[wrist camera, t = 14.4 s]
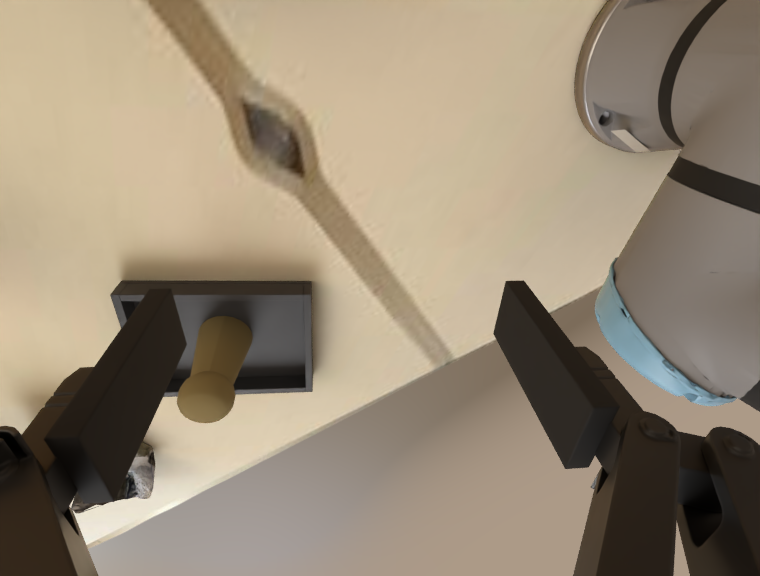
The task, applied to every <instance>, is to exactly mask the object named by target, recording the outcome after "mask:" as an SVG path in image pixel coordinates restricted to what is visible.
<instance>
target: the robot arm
mask: <svg viewBox="0 0 760 576" xmlns="http://www.w3.org/2000/svg"><path fill="white" fill-rule="evenodd" d="M575 101H576V106H577V110H578V113H579V116H580V118H581V121H582V123H583V124H584V126H585V128H586V129H587V130H588V131H589V133H590V134H591V135H593V136H594V137H595V138H596V139H597V140H599V141H601V142H602V143H604V144H607V145H609V146H612V147H614V148H617V149H619V150H622V151H626V152H634V153H642V152H653V151H664V150H676V149H682V151H681V152H680V154H679V156H678V158H677V160H676V161H675V163H674V165H673V166H672V168H671V170H670V172H669V173H668V174H667V176H666V178H665V179H664V181H663V183H662V184H661V186H660V188H659V189H658V191H657V193H656V194H655V196H654V198H653V200H652V201H651V203H650V205H649V206H648V208H647V210H646V211H645V213H644V215H643V217H642V218H641V220H640V222H639V223H638V225H637V227H636V228H635V230H634V232H633V233H632V235H631V237H630V239H629V240H628V242H627V244H626V245H625V247H624V249H623V250H622V252H621V254H620V256H619V257H617V258H615V260H614V261H613V262H612V264H611V266H610V270H609V275H608V277H607V279H606V281H605V283H604V285H603V287H602V289H601V291H600V293H599V295H598V297H597V299H596V303H595V314H596V318H597V321H598V323H599V324H600V329H601V331H602V333H603V335H604V336H605V338H606V339H607V341H608V342H609V343H610V345H611V346H612V347H613V348H614V350H615V351H616V352H617V353H618V354H619V355H620V356H621V357H622V358H623V359H624V360H625V361H626V362H627V363H628V364H629V365H630V366H632V367H633V368H634V369H635V370H636V371H637V372H639V373H640V374H641V375H643V376H644V377H645V378H647V379H648V380H650V381H651V382H652V383H654V384H655V385H657V386H659V387H660V388H662V389H664V390H666V391H668V392H670V393H672V394H674V395H675V396H682V395H684V396H685V397H686V398H687V399H688V400H689V401H690V402H693V403H696V404H700V405H705V406H718V405H723V404H725V403H729V402H733V401H735V400H736V399H737V398H738V399H740V400H741V401H743V402H745V403H746V404H748V405H750V406H751V407H753V408H755V409H756V410H758V411H760V0H609V1H608V2H607V3H606V5H605V6H604V7H603V9H602V10H601V12H600V13H599V15H598V16H597V18H596V19H595V21H594V23H593V24H592V26H591V28H590V30H589V32H588V34H587V37H586V39H585V41H584V44H583V46H582V49H581V52H580V55H579V59H578V63H577V68H576V74H575ZM494 336H495V338H496V339H497V341H498V343H499V345H500V347H501V349H502V351H503V353H504V354H505V356H506V358H507V360H508V362H509V364H510V366H511V368H512V369H513V371H514V373H515V375H516V377H517V379H518V381H519V383H520V384H521V386H522V388H523V390H524V392H525V394H526V396H527V398H528V400H529V401H530V403H531V405H532V407H533V409H534V411H535V412H536V415H537V416H538V418H539V420H540V422H541V424H542V426H543V428H544V430H545V432H546V433H547V435H548V437H549V439H550V441H551V442H552V445H553V446H554V448H555V450H556V452H557V454H558V456H559V458H560V460H561V461H562V464H563V465H564V467H565V469H572V468H585V467H589V466H590V464H591V462H592V460H593V458H594V456H595V455H596V457H597V459H598V460H599V462H600V463H601V465H602V467H601V469H600V471H599V473H598V475H597V477H596V479H595V480H594V483H593V484H592V486H591V488H593V489H594V493H593V498H592V502H591V506H590V510H589V514H588V518H587V522H586V526H585V530H584V534H583V538H582V542H581V546H580V550H579V554H578V558H577V562H576V567H575V570H574V574H573V576H673V572H674V554H675V537H676V520H677V523H678V527H679V531H680V536H681V540H682V544H683V548H684V552H685V556H686V560H687V564H688V568H689V573H690V576H760V445H758V443H756V442H755V441H754V440H753V439H751V438H750V437H748V436H746V435H744V434H743V433H741V432H739V431H736V430H734V429H731V428H726V427H716V428H713V429H712V430H711V431H710V433H709V434H708V435H707V436H706V437H702V436H697V435H692V434H688V433H683V432H678V431H677V430H676V429H675V428H674V427H673V426H672V425H671V424H670V423H669V422H668V421H666V420H665V419H663V418H661V417H659V416H658V415H656V414H652V413H649V412H644V411H643V410H642V408H641V407H640V406H639V405H638V404H637V402H636V401H635V400H634V399H633V398H632V396H631V395H630V394H629V393H628V391H627V390H626V389H625V388H624V386H623V385H622V384H621V383H620V382H619V380H618V379H616V378H615V375H614V374H613V373H612V372H611V371H610V370H608V367H607V366H606V364H604V362H603V361H602V360H601V358H600V357H599V356H598V355H596V354H595V353H594V352H592V351H591V350H589V349H588V348H587V347H574V346H573V344H572V343H571V342H570V340H569V339H568V338H567V336H566V335H565V334H564V333H563V331H562V330H561V329H560V327H559V326H558V325H557V323H556V322H555V321H554V319H553V318H552V317H551V315H550V314H549V313H548V312H547V310H546V309H545V308H544V306H543V305H542V304H541V302H540V301H539V300H538V298H537V297H536V296H535V295H534V293H533V292H532V291H531V289H530V288H529V287H528V285H527V284H526V283H525V282H524V281H506V283H505V287H504V292H503V296H502V300H501V304H500V308H499V313H498V317H497V321H496V325H495V329H494ZM186 346H187V342H186V339H185V335H184V332H183V328H182V325H181V321H180V318H179V314H178V310H177V307H176V303H175V300H174V296H173V293H172V289H171V288H161V289H149V291H148V292H147V293H146V295H145V296H144V298H143V299H142V300H141V302H140V303H139V305H138V306H137V308H136V309H135V310H134V312H133V313H132V315H131V316H130V317H129V319H128V320H127V322H126V323H125V324H124V326H123V327H122V329H121V330H120V332H119V333H118V334H117V336H116V337H115V339H114V340H113V341H112V343H111V344H110V346H109V347H108V348H107V350H106V351H105V353H104V354H103V356H102V357H101V358H100V360H99V361H98V363H97V364H96V365H95V367H85V368H79V369H78V370H77V371H75V372H74V373H73V374H71V375H70V376H69V377H67V378H66V379H65V380H64V381H63V382H62V383H61V385H60V386H59V387H58V388H57V390H56V391H55V392H54V396H51V398H50V399H49V400H48V401H47V403H46V404H45V408H42V409H41V411H40V412H39V413H38V415H37V416H36V417H35V418H34V420H33V421H32V422H31V424H30V425H29V426H28V428H27V429H26V430H25V431H24V433H23V434H22V435H21V434H20V433H19V432H18V431H17V430H16V428H14V427H9V426H1V427H0V576H98V574H97V571H96V569H95V566H94V564H93V561H92V559H91V556H90V554H89V551H88V549H87V546H86V543H85V541H84V538H83V536H82V533H81V531H80V528H79V526H78V523H77V521H76V518H75V516H74V513H73V511H72V510H71V508H70V507H69V505H70V504H71V502H72V500H73V498H74V496H75V495H76V493H77V492H78V494H79V496H80V497H81V499H82V500H83V502H84V503H85V504H89V503H103V502H115V499H116V497H117V495H118V493H119V491H120V489H121V486H122V484H123V482H124V480H125V478H126V476H127V474H128V471H129V469H130V467H131V465H132V463H133V461H134V458H135V456H136V454H137V452H138V450H139V448H140V445H141V443H142V441H143V439H144V437H145V435H146V432H147V430H148V428H149V426H150V424H151V422H152V419H153V417H154V415H155V413H156V411H157V409H158V407H159V404H160V402H161V400H162V398H163V396H164V394H165V391H166V389H167V387H168V385H169V383H170V381H171V378H172V376H173V374H174V372H175V370H176V368H177V365H178V363H179V361H180V359H181V357H182V355H183V353H184V350H185V348H186Z"/></svg>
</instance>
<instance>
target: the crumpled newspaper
mask: <svg viewBox="0 0 760 576" xmlns="http://www.w3.org/2000/svg"><path fill="white" fill-rule="evenodd" d="M154 471H155V460H154V452H153V448H152V447H151V446H150V445H147V444H145V443H144V442H142V443H141V445H140V448H139V450H138V452H137V454H136V456H135V458H134V461H133V463H132V465H131V467H130V469H129V471H128V474H127V476H126V478H125V480H124V482H123V484H122V486H121V489H120V491H119V493H118V495H117V497H116V499H115V501H117V500H121V499H129V498H133V497H139V498H142V499H147V498H149V497H150V496H151V493H152V489H153V482H154ZM106 503H109V502H103V503H89V504H85V503H84V502H83V500H82V499H81V497H80V496H79V494H78V492H77V493H76V495H75V497H74V501H73V504H72V507H71V510H73V511H74V512H75V513H81V512H84V510H85V511H87V510H86V509H88V508H90V507H92V506H94V505H96V504H97V505H104V504H106ZM98 507H99V506H98ZM95 508H96V507H95ZM92 509H93V508H92ZM88 510H90V509H88Z"/></svg>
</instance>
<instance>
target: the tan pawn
mask: <svg viewBox="0 0 760 576" xmlns="http://www.w3.org/2000/svg"><path fill="white" fill-rule="evenodd" d="M252 339H253V337H252V332H251V330H250V329H249V327H248V326H247V325H246V324H245V323H243V322H242V321H241V320H238V319H236V318H234V317H228V316H216V317H213V318H210V319H208V320H206V321H205V322H204V323H203V324H202V325H201V327H200V328H199V332H198V337H197V343H196V348H195V354H194V359H193V365H192V370H191V375H190V377H189V378H188V379H186V381H185V382H184V383H183V384H182V386H181V387H180V389H179V392H178V398H177V404H178V407H179V409H180V412H181V413H182V414H183V415H184V416H185V417H186V418H188V419H190V420H192V421H195V422H199V423H212V422H215V421H219V420H220V419H222V418H223V417H225V416H226V415H227V414H228V413H229V412H230V410H231V409H232V407H233V404H234V400H235V390H234V386H233V385H234V382H235V380H236V378H237V376H238V373H239V371H240V369H241V367H242V364H243V362H244V360H245V358H246V355H247V353H248V351H249V348H250V346H251V344H252Z"/></svg>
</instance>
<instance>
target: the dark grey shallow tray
mask: <svg viewBox="0 0 760 576" xmlns="http://www.w3.org/2000/svg"><path fill="white" fill-rule="evenodd" d="M161 288H171V289H172V293H173V296H174V300H175V303H176V307H177V310H178V314H179V318H180V321H181V325H182V328H183V332H184V335H185V339H186V342H187V346H186V348H185V350H184V353H183V355H182V357H181V359H180V361H179V363H178V365H177V368H176V370H175V372H174V374H173V376H172V378H171V381H170V383H169V385H168V387H167V389H166V391H165V394H164V396H163V397H175V396H178V392H179V389H180V387H181V386H182V384H183V383H184V382H185V381H186V379H188V378H189V377H190V375H191V370H192V365H193V359H194V354H195V348H196V343H197V337H198V332H199V328H200V327H201V325H202V324H203V323H204V322H205V321H206V320H208V319H210V318H213V317H216V316H228V317H234V318H236V319H238V320H241V321H242V322H243V323H245V324H246V325H247V326H248V327H249V329H250V330H251V332H252V337H253V339H252V344H251V346H250V348H249V351H248V353H247V355H246V358H245V360H244V362H243V364H242V367H241V369H240V371H239V373H238V376H237V378H236V380H235V382H234V385H233V386H234V390H235V394H261V393H289V392H312V387H313V356H312V283H311V282H305V281H121V282H120V283H119V284H118V286H117V287H116V288H115V290H114V291H113V292H112V293H111V295H110V296H111V299H112V302H113V305H114V308H115V311H116V314H117V317H118V320H119V323H120V326H121V329H122V327H123V326H124V324H125V323H126V322H127V320H128V319H129V317H130V316H131V315H132V313H133V312H134V310H135V309H136V308H137V306H138V305H139V303H140V302H141V300H142V299H143V298H144V296H145V295H146V293H147V292H148V291H149V289H161Z"/></svg>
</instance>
